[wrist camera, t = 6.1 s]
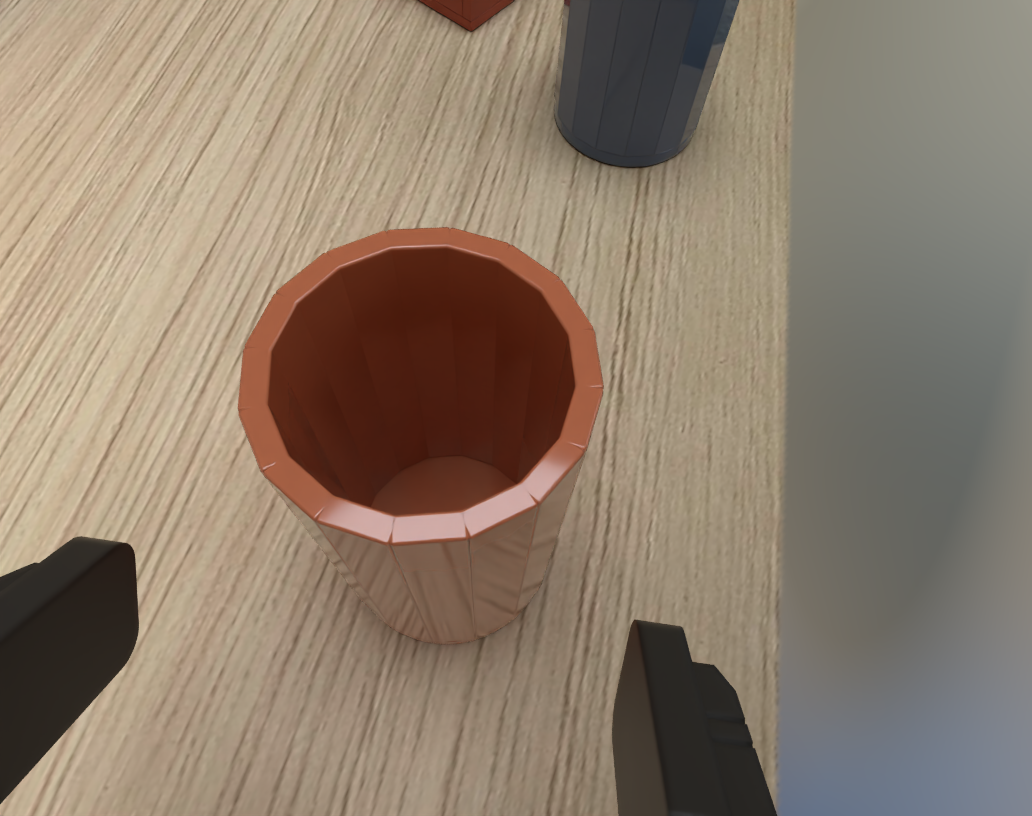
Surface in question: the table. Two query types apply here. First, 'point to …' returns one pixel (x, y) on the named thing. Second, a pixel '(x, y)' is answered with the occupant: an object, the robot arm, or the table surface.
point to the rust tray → (468, 10)
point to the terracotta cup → (425, 421)
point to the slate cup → (637, 75)
